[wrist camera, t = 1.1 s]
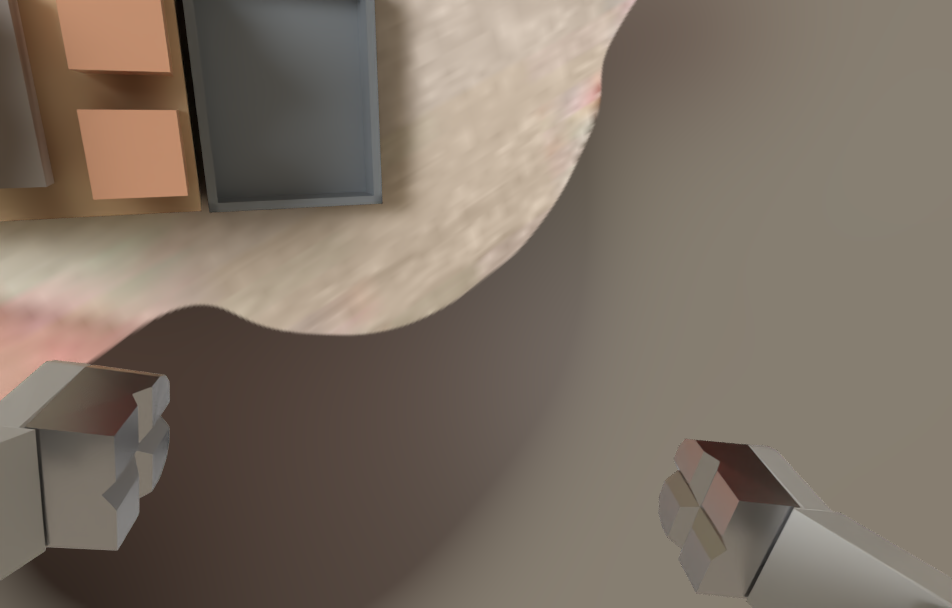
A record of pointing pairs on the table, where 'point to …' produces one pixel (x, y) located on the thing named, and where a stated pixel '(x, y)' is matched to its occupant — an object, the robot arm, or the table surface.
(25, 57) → the upright wooden block
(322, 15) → the tray
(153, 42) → the orange cube
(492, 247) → the table surface
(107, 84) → the tan piece
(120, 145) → the orange brown cube
